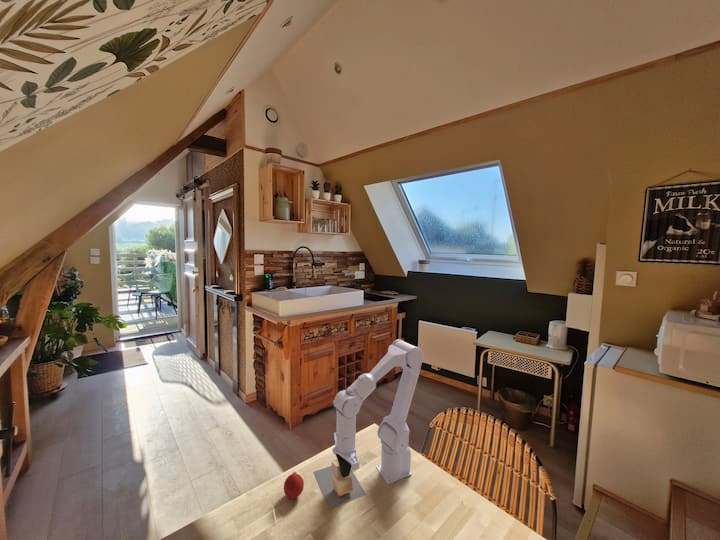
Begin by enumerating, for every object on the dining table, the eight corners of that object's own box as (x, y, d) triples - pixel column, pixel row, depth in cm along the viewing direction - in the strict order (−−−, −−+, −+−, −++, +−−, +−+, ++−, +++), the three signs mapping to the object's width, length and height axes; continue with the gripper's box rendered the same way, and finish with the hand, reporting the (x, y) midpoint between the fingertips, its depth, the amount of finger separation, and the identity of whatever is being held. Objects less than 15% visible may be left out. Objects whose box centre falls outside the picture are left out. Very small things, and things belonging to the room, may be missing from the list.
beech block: (347, 484, 92) (344, 456, 93) (352, 490, 88) (350, 462, 89) (333, 489, 90) (331, 461, 91) (339, 496, 86) (336, 466, 87)
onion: (298, 507, 83) (298, 482, 83) (280, 503, 85) (280, 478, 84) (306, 491, 89) (306, 466, 88) (289, 487, 90) (289, 463, 90)
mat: (346, 461, 101) (346, 460, 101) (366, 495, 88) (366, 494, 88) (313, 472, 96) (313, 471, 96) (328, 510, 83) (328, 509, 83)
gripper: (324, 422, 90) (324, 462, 92) (343, 452, 77) (342, 499, 79) (345, 416, 93) (344, 456, 95) (366, 445, 81) (365, 490, 82)
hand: (345, 475), depth 87 cm, fingers closed
